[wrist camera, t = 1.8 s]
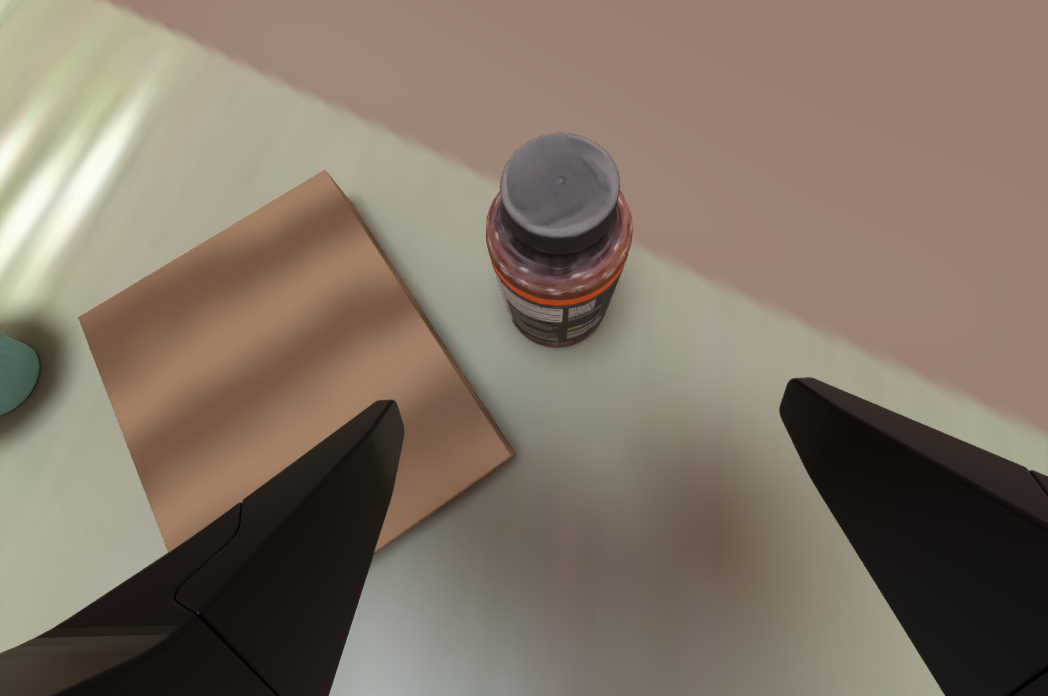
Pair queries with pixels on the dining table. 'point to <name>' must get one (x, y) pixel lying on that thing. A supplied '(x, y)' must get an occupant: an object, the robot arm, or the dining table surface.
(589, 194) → the supplement bottle
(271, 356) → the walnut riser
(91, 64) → the dining table surface
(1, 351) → the cupcake
